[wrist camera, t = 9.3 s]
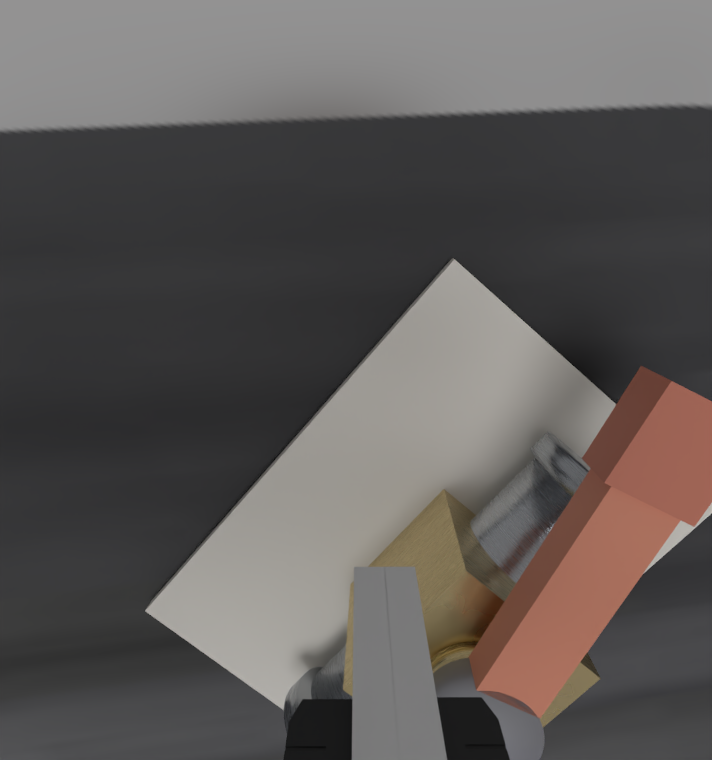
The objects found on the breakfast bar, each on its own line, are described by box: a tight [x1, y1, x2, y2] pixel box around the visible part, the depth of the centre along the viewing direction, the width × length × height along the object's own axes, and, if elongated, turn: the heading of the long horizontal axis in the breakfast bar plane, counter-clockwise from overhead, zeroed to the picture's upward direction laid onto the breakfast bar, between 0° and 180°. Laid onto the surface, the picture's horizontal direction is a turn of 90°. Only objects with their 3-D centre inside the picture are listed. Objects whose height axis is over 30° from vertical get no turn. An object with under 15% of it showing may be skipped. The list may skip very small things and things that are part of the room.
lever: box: [433, 366, 712, 760], centre depth 22 cm, size 18×5×2 cm, turn 154°
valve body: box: [284, 431, 601, 733], centre depth 29 cm, size 8×20×9 cm, turn 140°
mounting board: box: [145, 259, 712, 710], centre depth 34 cm, size 20×27×1 cm
